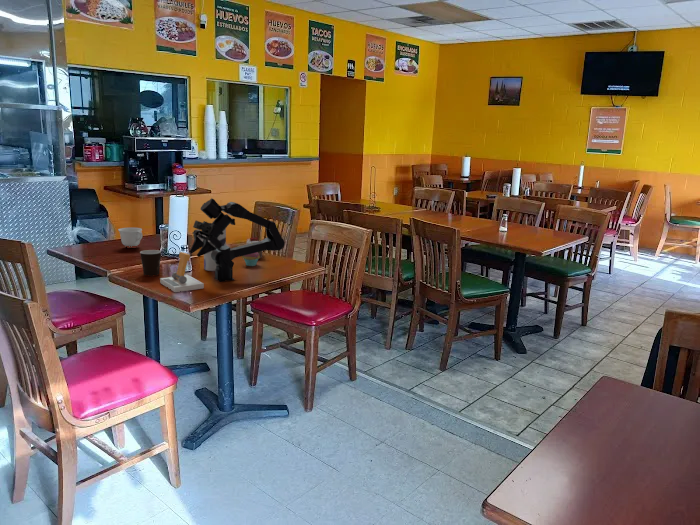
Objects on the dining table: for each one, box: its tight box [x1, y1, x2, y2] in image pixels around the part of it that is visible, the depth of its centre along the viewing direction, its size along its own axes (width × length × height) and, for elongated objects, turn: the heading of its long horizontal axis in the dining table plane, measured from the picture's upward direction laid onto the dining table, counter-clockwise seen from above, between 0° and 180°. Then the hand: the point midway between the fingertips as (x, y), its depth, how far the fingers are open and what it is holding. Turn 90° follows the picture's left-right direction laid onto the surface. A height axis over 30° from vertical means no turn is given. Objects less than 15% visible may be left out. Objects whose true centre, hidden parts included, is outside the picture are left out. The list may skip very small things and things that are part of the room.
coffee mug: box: [139, 249, 162, 277], centre depth 245 cm, size 12×9×10 cm
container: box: [203, 228, 227, 272], centre depth 256 cm, size 10×10×20 cm
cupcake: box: [241, 242, 261, 267], centre depth 267 cm, size 9×8×12 cm
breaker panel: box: [159, 271, 205, 293], centre depth 228 cm, size 12×16×5 cm
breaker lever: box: [176, 251, 191, 279], centre depth 227 cm, size 2×5×11 cm, turn 38°
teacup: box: [117, 226, 144, 247], centre depth 293 cm, size 12×15×10 cm
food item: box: [245, 236, 263, 259], centre depth 288 cm, size 14×8×10 cm, turn 20°
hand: (193, 254), depth 229 cm, fingers open, 7 cm apart
